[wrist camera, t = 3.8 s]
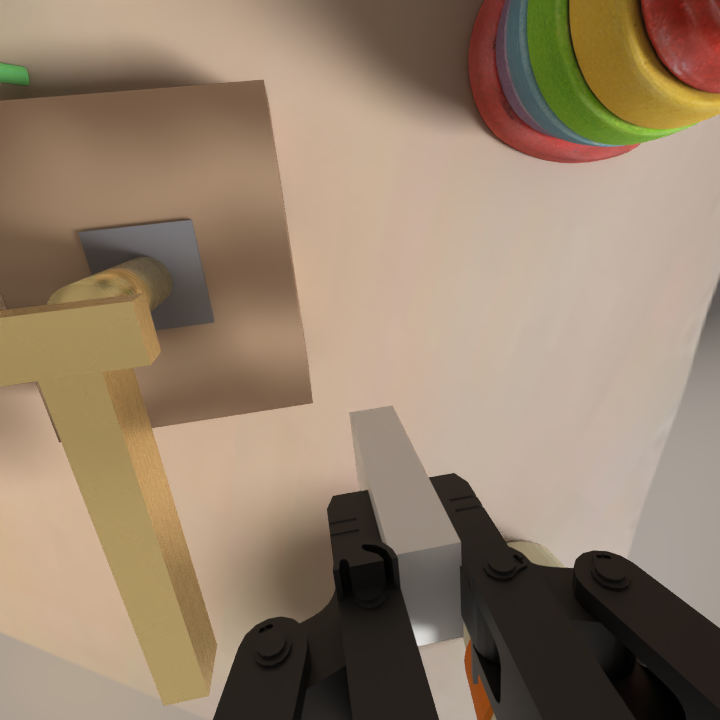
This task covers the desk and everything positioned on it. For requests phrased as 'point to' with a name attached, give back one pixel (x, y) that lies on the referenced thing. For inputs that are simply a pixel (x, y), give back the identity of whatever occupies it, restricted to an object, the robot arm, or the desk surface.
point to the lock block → (163, 233)
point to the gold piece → (119, 454)
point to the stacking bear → (594, 73)
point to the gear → (13, 74)
